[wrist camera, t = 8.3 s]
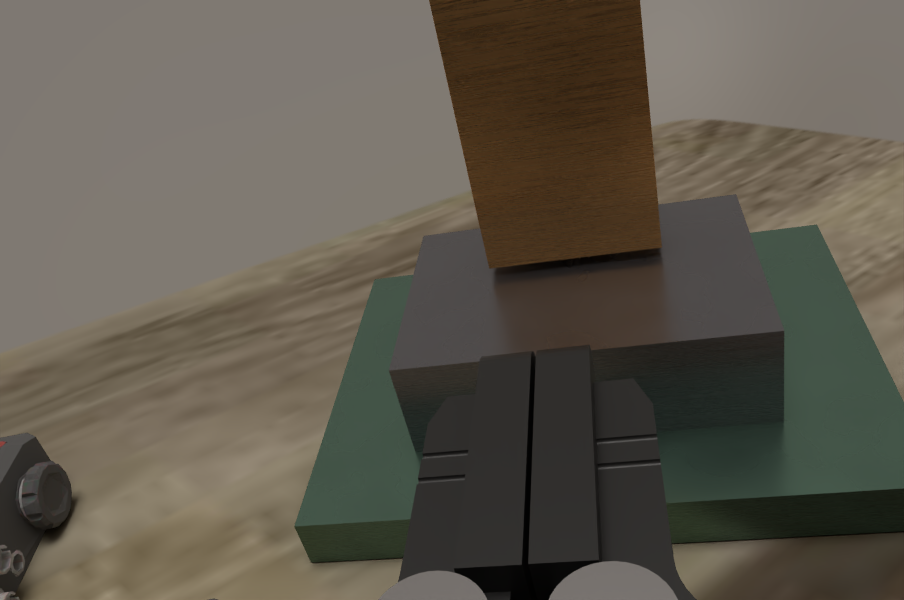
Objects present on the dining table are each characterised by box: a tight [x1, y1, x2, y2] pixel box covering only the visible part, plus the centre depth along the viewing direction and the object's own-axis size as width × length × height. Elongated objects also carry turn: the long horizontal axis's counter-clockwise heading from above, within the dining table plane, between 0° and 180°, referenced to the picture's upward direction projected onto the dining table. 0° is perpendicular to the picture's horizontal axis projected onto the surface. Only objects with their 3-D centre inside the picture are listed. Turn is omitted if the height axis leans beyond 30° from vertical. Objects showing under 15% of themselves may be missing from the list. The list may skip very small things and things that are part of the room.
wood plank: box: [429, 0, 662, 269], centre depth 25 cm, size 5×8×9 cm, turn 174°
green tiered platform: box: [294, 194, 904, 562], centre depth 25 cm, size 16×12×7 cm
